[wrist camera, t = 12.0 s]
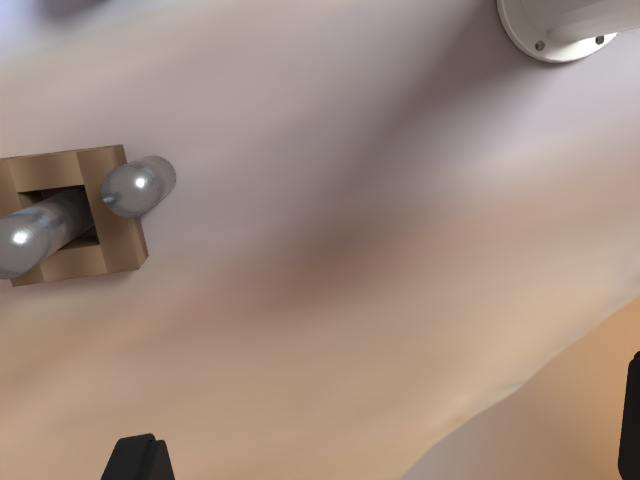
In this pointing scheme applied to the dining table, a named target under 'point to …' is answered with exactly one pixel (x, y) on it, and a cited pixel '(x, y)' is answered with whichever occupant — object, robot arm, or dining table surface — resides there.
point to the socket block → (113, 230)
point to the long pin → (41, 230)
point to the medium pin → (137, 186)
